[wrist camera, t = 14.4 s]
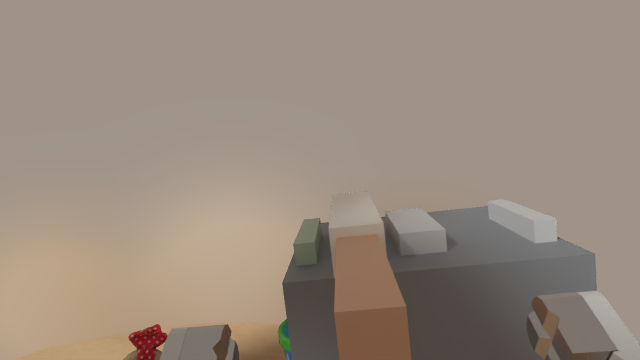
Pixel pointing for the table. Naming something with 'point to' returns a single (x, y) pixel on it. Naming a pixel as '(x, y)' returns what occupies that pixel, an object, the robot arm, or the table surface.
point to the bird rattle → (147, 343)
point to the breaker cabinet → (445, 280)
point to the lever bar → (365, 284)
